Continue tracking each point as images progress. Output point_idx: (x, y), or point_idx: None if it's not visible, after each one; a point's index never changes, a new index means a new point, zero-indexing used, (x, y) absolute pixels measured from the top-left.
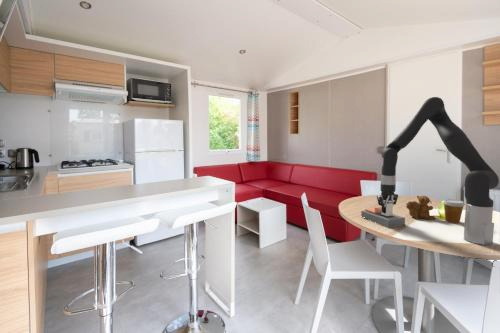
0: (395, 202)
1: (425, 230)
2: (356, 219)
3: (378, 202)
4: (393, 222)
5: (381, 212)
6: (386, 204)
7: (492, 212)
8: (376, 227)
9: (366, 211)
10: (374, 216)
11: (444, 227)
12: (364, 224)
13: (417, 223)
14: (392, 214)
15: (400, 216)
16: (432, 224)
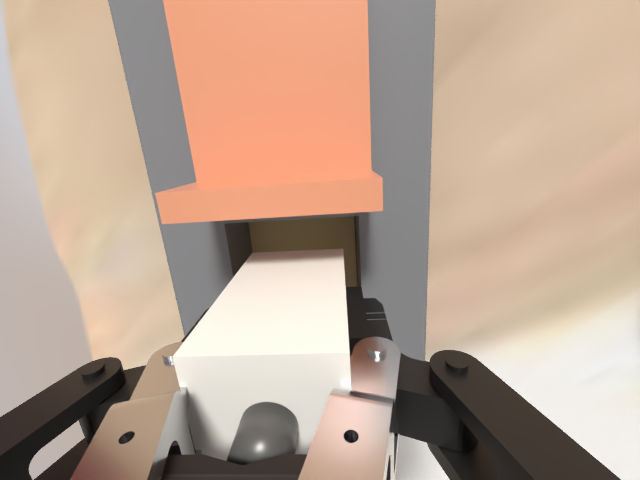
0: (469, 466)
1: (436, 469)
2: (66, 76)
3: (15, 423)
4: None
5: (246, 263)
6: (205, 452)
7: None
8: (140, 326)
9: (164, 30)
10: (168, 236)
11: (627, 475)
12: (77, 238)
13: (541, 361)
14: (404, 275)
15: (423, 356)
16: (626, 413)
